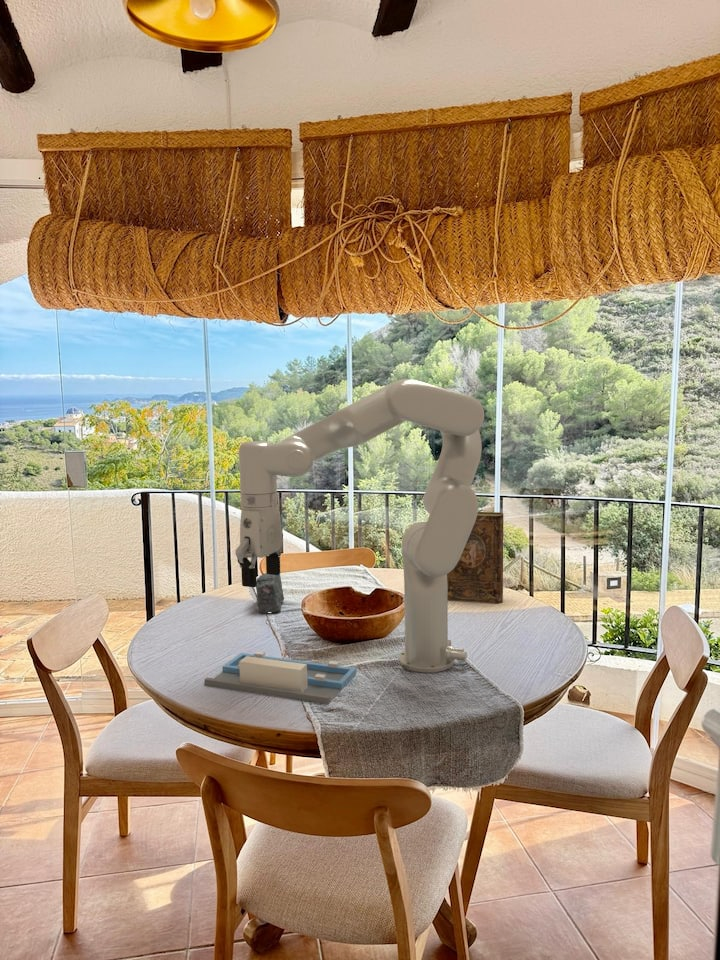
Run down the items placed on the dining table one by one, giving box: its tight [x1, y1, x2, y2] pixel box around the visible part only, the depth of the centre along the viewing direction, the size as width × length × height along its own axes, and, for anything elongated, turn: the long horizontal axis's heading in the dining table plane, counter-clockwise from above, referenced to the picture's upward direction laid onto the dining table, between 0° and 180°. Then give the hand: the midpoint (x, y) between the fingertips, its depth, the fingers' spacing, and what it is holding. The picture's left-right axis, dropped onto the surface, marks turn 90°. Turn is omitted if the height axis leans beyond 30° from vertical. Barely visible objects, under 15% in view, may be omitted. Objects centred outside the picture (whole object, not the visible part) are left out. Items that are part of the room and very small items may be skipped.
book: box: [447, 511, 504, 605], centre depth 199 cm, size 16×6×25 cm, turn 73°
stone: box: [255, 573, 285, 614], centre depth 197 cm, size 12×8×10 cm, turn 6°
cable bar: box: [239, 656, 308, 692], centre depth 144 cm, size 14×3×5 cm, turn 69°
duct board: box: [204, 650, 357, 705], centre depth 148 cm, size 28×15×3 cm, turn 69°
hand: (261, 580), depth 149 cm, fingers open, 9 cm apart
